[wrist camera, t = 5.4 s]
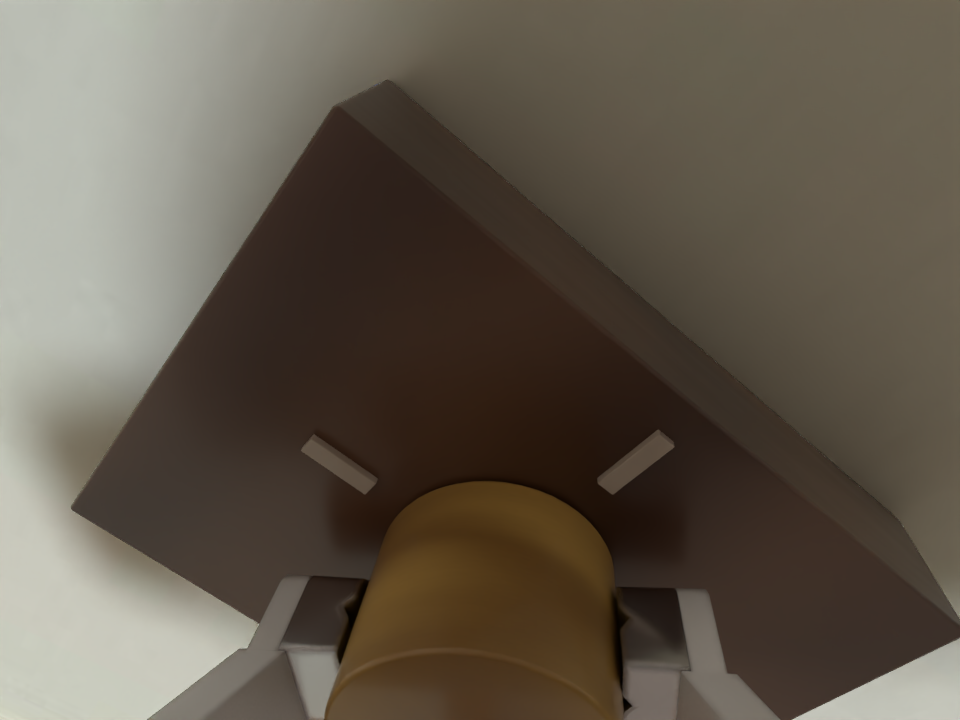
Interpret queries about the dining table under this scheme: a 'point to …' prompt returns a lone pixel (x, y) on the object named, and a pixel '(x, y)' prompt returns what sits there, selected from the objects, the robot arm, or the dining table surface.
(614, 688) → the lock knob
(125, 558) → the dining table surface
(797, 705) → the lock plate
